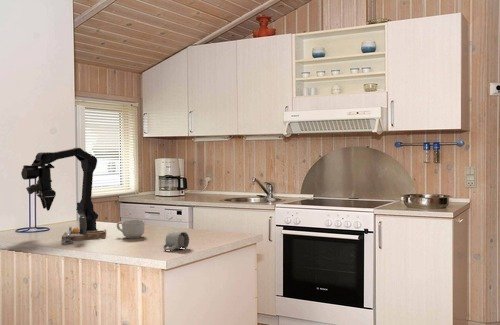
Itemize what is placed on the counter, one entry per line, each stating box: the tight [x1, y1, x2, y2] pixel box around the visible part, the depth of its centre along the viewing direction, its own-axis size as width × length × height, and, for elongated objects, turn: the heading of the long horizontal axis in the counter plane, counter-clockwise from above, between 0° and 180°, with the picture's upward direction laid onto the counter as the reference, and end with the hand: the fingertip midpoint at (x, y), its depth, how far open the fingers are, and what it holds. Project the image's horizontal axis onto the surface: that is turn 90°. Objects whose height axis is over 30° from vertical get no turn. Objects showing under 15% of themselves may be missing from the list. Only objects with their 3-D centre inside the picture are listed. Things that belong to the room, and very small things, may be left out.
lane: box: [61, 228, 107, 242], centre depth 258 cm, size 20×9×3 cm, turn 102°
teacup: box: [116, 219, 145, 240], centre depth 257 cm, size 14×11×8 cm
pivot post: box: [61, 237, 74, 245], centre depth 245 cm, size 5×5×3 cm
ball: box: [72, 227, 80, 234], centre depth 257 cm, size 3×3×3 cm
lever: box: [62, 216, 86, 237], centre depth 251 cm, size 10×15×9 cm
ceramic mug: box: [163, 231, 190, 251], centre depth 227 cm, size 11×8×8 cm
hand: (46, 209), depth 261 cm, fingers open, 9 cm apart
